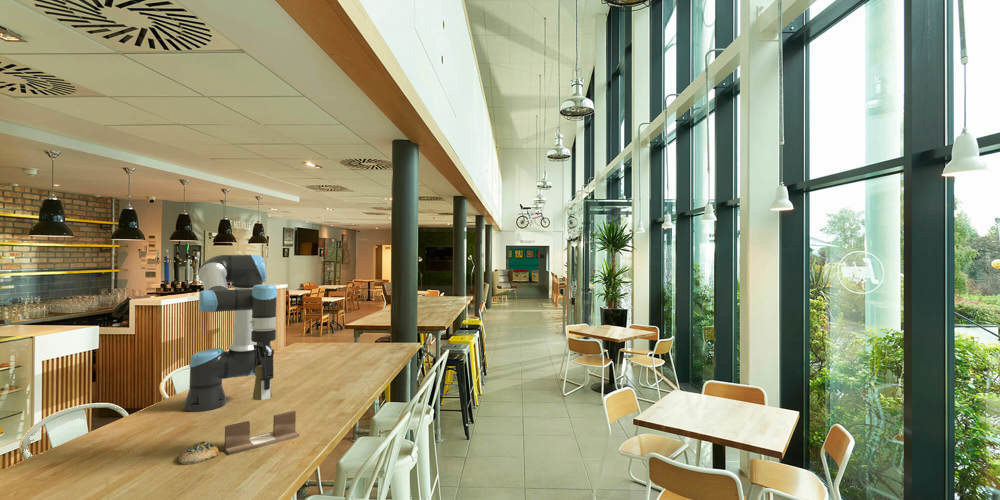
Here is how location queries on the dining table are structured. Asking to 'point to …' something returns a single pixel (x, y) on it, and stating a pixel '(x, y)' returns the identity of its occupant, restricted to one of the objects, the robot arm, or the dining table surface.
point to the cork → (258, 384)
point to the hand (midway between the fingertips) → (262, 396)
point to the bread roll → (198, 453)
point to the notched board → (241, 440)
